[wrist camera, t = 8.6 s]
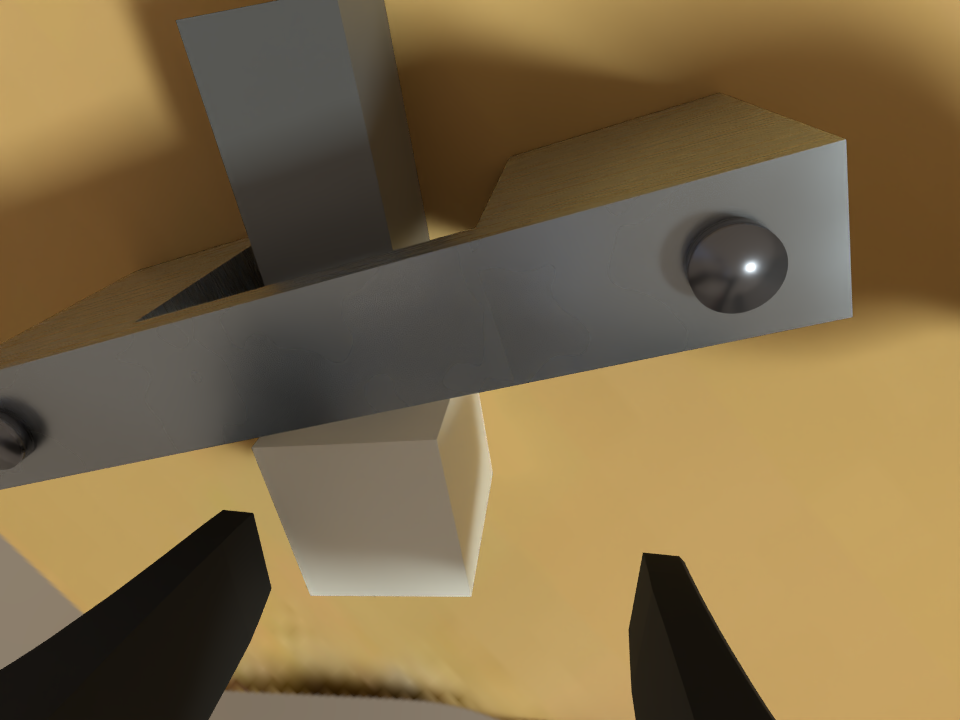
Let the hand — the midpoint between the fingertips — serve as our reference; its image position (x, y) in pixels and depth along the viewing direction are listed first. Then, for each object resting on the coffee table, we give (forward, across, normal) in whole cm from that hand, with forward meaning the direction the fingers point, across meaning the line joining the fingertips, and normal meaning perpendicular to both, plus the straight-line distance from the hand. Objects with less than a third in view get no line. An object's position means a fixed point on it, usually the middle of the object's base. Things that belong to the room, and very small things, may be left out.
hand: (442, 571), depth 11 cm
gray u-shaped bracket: (+5, +2, -5) cm, 7 cm away
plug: (+5, +2, -4) cm, 6 cm away
